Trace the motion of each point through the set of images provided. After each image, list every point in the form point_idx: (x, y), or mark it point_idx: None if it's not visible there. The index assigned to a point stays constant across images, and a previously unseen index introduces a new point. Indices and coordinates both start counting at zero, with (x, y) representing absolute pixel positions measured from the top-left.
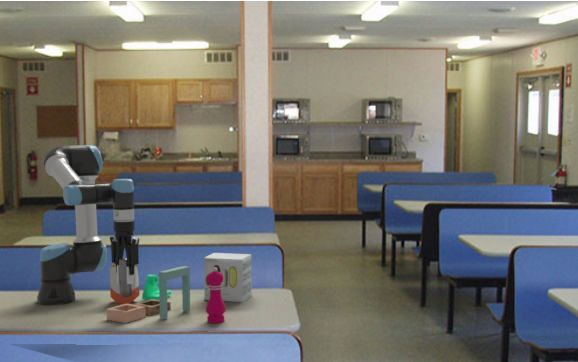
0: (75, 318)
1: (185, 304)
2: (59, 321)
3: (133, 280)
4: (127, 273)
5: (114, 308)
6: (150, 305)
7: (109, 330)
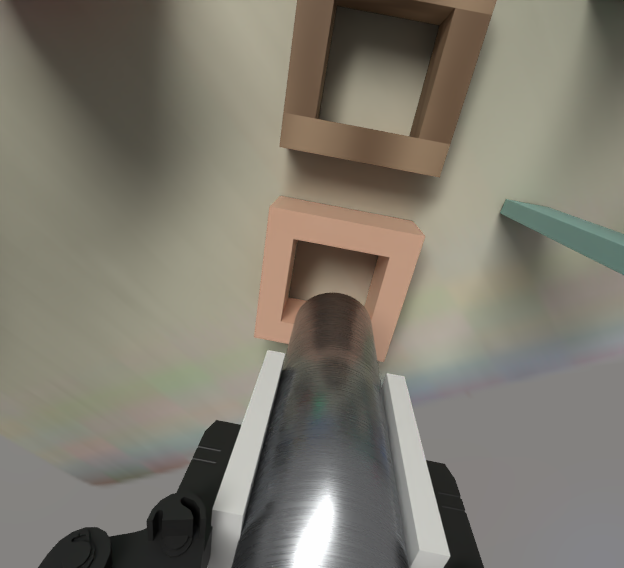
0: (139, 335)
1: None
2: (126, 381)
3: (408, 394)
4: None
5: (281, 315)
6: (333, 19)
7: None
